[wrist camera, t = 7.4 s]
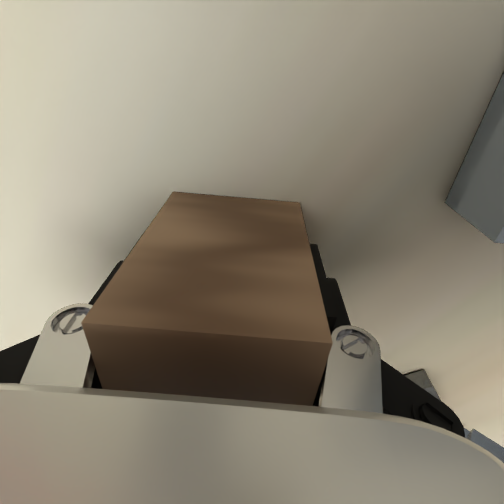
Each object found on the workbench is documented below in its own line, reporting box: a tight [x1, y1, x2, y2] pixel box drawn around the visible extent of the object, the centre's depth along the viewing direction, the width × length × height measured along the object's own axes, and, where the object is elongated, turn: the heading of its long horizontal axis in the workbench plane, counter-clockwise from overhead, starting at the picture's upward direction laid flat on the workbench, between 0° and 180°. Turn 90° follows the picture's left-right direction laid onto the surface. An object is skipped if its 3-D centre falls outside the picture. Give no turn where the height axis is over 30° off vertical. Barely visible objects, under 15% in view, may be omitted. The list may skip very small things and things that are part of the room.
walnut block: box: [81, 192, 333, 406], centre depth 10 cm, size 5×5×7 cm
